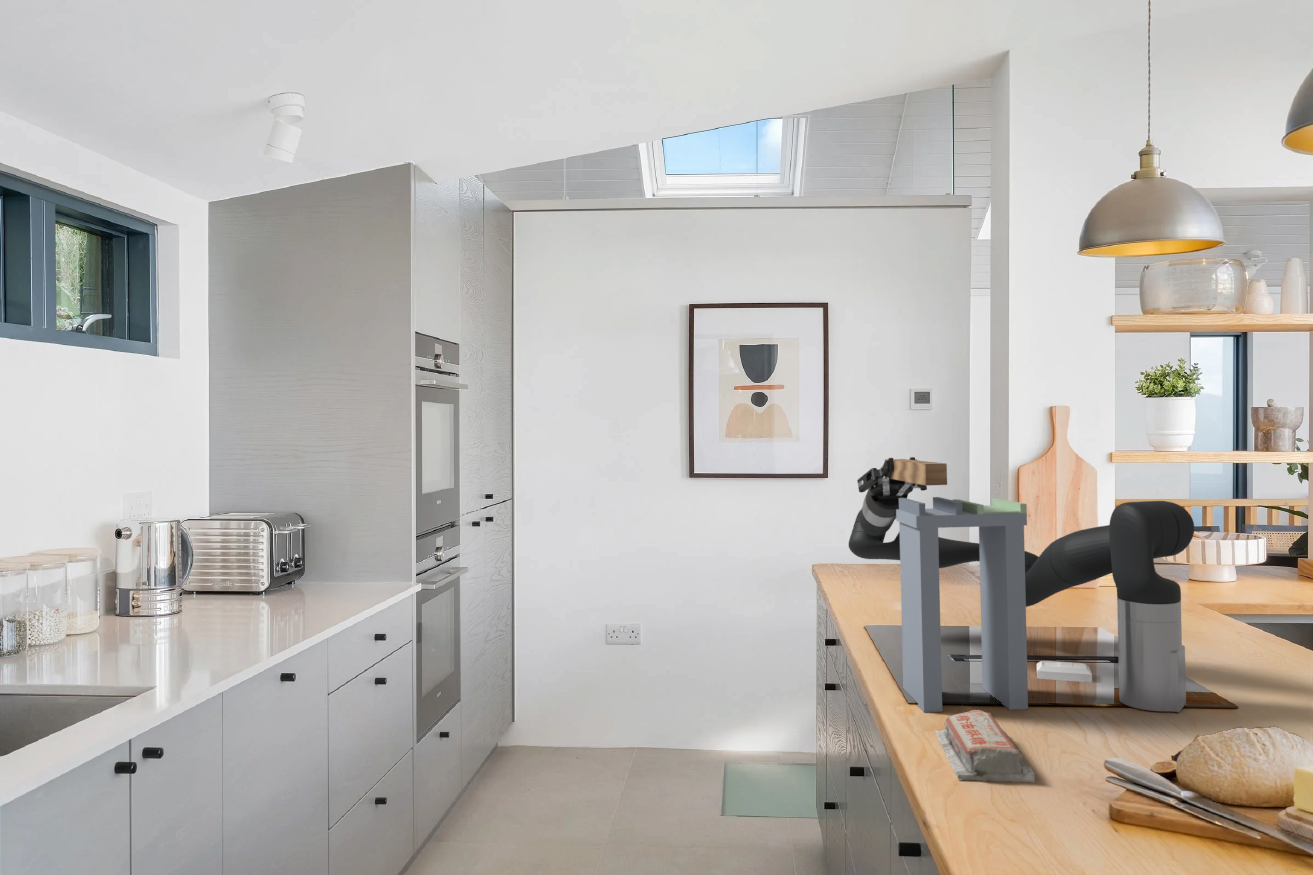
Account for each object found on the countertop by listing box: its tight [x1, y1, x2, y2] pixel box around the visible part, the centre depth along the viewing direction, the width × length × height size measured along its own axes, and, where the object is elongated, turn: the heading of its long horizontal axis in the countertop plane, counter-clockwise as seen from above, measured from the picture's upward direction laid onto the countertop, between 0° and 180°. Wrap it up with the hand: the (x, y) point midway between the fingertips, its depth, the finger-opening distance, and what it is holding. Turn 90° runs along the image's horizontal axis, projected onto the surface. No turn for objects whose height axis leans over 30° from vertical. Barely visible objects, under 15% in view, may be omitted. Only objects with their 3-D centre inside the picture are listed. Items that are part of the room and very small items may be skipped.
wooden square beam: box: [884, 458, 948, 486], centre depth 161 cm, size 26×4×4 cm, turn 0°
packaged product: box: [934, 709, 1036, 783], centre depth 126 cm, size 18×5×10 cm
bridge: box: [895, 496, 1029, 713], centre depth 152 cm, size 12×18×34 cm, turn 90°
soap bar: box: [1036, 660, 1093, 683], centre depth 165 cm, size 5×9×3 cm, turn 68°
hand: (902, 461), depth 167 cm, fingers closed on wooden square beam, 3 cm apart
